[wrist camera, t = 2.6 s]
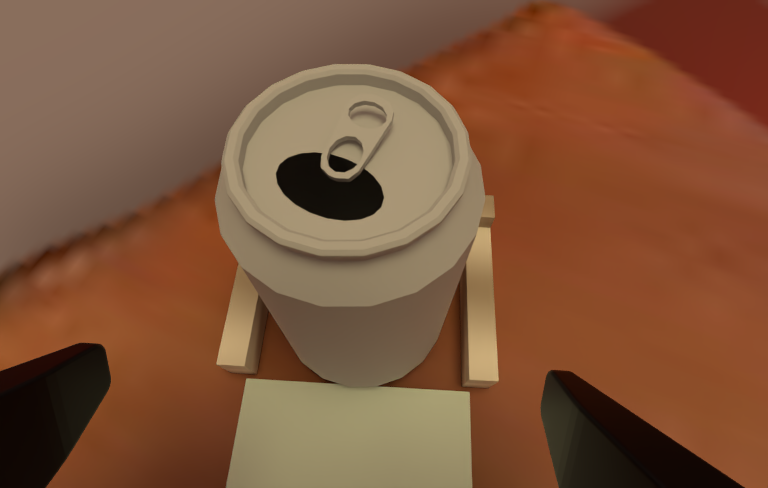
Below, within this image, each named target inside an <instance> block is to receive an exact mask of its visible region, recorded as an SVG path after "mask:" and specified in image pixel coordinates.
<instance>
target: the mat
mask: <svg viewBox="0 0 768 488" xmlns="http://www.w3.org/2000/svg"><path fill="white" fill-rule="evenodd" d="M226 488H472V462H471V425H470V392H463V391H446V390H430V389H413V388H397V387H380V386H376V387H347V386H344V385H341V384H330V383H314V382H297V381H280V380H264V379H247V378H246V383H245V389H244V394H243V399H242V404H241V410H240V415H239V420H238V426H237V431H236V436H235V441H234V447H233V452H232V457H231V463H230V468H229V473H228V478H227V484H226Z"/></svg>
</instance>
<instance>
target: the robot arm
mask: <svg viewBox="0 0 768 488" xmlns="http://www.w3.org/2000/svg"><path fill="white" fill-rule="evenodd" d="M110 383H111V376H110V371H109V366H108V361H107V355H106V351H105V348H104V347H103V346H102V345H101V344H95V343H78V344H75V345H72V346H70V347H67V348H64V349H61V350H58V351H56V352H53V353H50V354H47V355H44V356H42V357H39V358H36V359H33V360H30V361H28V362H25V363H22V364H19V365H16V366H14V367H11V368H8V369H5V370H2V371H0V488H46V486H47V485H48V484H49V482H50V481H51V480H52V478H53V477H54V476H55V474H56V473H57V472H58V470H59V469H60V467H61V466H62V464H63V463H64V462H65V460H66V459H67V457H68V456H69V454H70V452H71V451H72V449H73V448H74V446H75V444H76V443H77V441H78V440H79V438H80V436H81V435H82V433H83V431H84V430H85V428H86V426H87V425H88V423H89V421H90V420H91V418H92V416H93V415H94V413H95V411H96V410H97V408H98V406H99V405H100V403H101V401H102V400H103V398H104V397H105V395H106V393H107V391H108V389H109V387H110ZM541 417H542V421H543V425H544V429H545V433H546V437H547V441H548V446H549V450H550V454H551V458H552V462H553V466H554V470H555V474H556V478H557V482H558V486H559V488H745V487H743V486H742V485H740V484H739V483H737V482H736V481H734V480H733V479H731V478H730V477H728V476H727V475H725V474H724V473H722V472H721V471H719V470H718V469H716V468H715V467H713V466H712V465H710V464H709V463H707V462H706V461H704V460H703V459H701V458H700V457H698V456H697V455H695V454H694V453H692V452H691V451H689V450H688V449H686V448H685V447H683V446H682V445H680V444H679V443H677V442H676V441H674V440H673V439H671V438H670V437H668V436H667V435H665V434H664V433H662V432H661V431H659V430H658V429H656V428H655V427H653V426H652V425H650V424H649V423H647V422H646V421H644V420H643V419H641V418H640V417H638V416H637V415H635V414H634V413H632V412H631V411H629V410H628V409H626V408H625V407H623V406H622V405H620V404H619V403H617V402H616V401H614V400H613V399H611V398H610V397H608V396H607V395H605V394H604V393H602V392H601V391H599V390H598V389H596V388H595V387H593V386H592V385H590V384H589V383H587V382H586V381H584V380H583V379H581V378H580V377H578V376H577V375H575V374H574V373H572V372H570V371H561V370H551V371H549V372H548V374H547V376H546V380H545V386H544V391H543V396H542V401H541Z"/></svg>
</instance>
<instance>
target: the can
mask: <svg viewBox="0 0 768 488" xmlns="http://www.w3.org/2000/svg"><path fill="white" fill-rule="evenodd" d="M221 164H222V169H221V174H220V178H219V183H218V187H217V192H216V196H215V204H216V210H217V215H218V221H219V227H220V233H221V236H222V237H223V239H224V240H225V242H226V244H227V245H228V247H229V248H230V250H231V251H232V253H233V255H234V256H235V258H236V259H237V261H238V263H239V264H240V266H241V267H242V269H243V270H244V272H245V274H246V275H247V277H248V278H249V280H250V282H251V283H252V285H253V286H254V288H255V289H256V291H257V293H258V294H259V296H260V297H261V299H262V301H263V302H264V304H265V305H266V307H267V308H268V310H269V312H270V313H271V315H272V316H273V318H274V320H275V321H276V323H277V324H278V326H279V327H280V329H281V331H282V332H283V334H284V335H285V337H286V338H287V340H288V342H289V343H290V345H291V346H292V348H293V349H294V351H295V353H296V354H297V356H298V357H299V359H300V360H301V362H302V363H303V364H305V365H306V366H307V367H308V368H310V369H311V370H312V371H314V372H315V373H316V374H318V375H319V376H320V377H321V378H323V379H326V380H329V381H332V382H335V383H338V384H341V385H344V386H347V387H376V386H379V385H382V384H385V383H388V382H391V381H394V380H397V379H400V378H402V377H403V376H405V375H406V374H407V373H409V372H410V371H411V370H413V369H414V368H415V367H416V366H418V365H419V364H420V363H422V362H423V361H424V359H425V358H426V356H427V355H428V353H429V352H430V350H431V349H432V347H433V346H434V344H435V343H436V341H437V339H438V337H439V334H440V331H441V329H442V326H443V323H444V320H445V318H446V315H447V312H448V310H449V307H450V304H451V302H452V299H453V296H454V294H455V291H456V288H457V286H458V283H459V280H460V277H461V275H462V272H463V269H464V267H465V264H466V261H467V259H468V256H469V253H470V251H471V248H472V245H473V242H474V240H475V237H476V234H477V231H478V227H479V223H480V219H481V215H482V211H483V207H484V203H485V193H484V186H483V179H482V172H481V165H480V163H479V162H478V160H477V158H476V156H475V154H474V153H473V151H472V149H471V147H470V143H469V136H468V132H467V130H466V128H465V126H464V124H463V123H462V121H461V119H460V117H459V116H458V114H457V112H456V110H455V109H454V107H453V106H452V105H451V104H450V103H449V102H448V101H447V100H445V99H444V98H443V97H442V96H441V95H440V94H439V93H438V92H436V91H435V90H434V89H433V88H432V87H431V86H429V85H427V84H425V83H423V82H421V81H419V80H417V79H415V78H413V77H411V76H409V75H407V74H404V73H402V72H400V71H396V70H392V69H387V68H383V67H378V66H373V65H369V64H333V65H329V66H324V67H320V68H315V69H310V70H306V71H301V72H299V73H297V74H295V75H292V76H290V77H288V78H286V79H284V80H282V81H280V82H278V83H275V84H273V85H271V86H270V87H269V88H267V89H266V90H265V91H264V92H263V93H261V94H260V95H259V96H258V97H256V98H255V99H254V100H253V101H252V102H250V103H249V104H248V105H247V106H245V108H244V109H243V111H242V112H241V114H240V115H239V117H238V118H237V120H236V121H235V123H234V124H233V126H232V127H231V129H230V130H229V132H228V135H227V139H226V144H225V148H224V152H223V157H222V161H221Z"/></svg>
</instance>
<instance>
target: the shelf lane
mask: <svg viewBox="0 0 768 488" xmlns="http://www.w3.org/2000/svg"><path fill="white" fill-rule="evenodd" d="M494 218H495V212H494V196H489V195H485V203H484V207H483V211H482V215H481V219H480V223H479V227H478V231H477V234H476V237H475V240H474V242H473V245H472V248H471V251H470V253H469V256H468V259H467V261H466V264H465V267H464V269H463V272H462V275H461V277H460V324H461V375H462V387H476V388H489V387H491V386H492V385H494V384H495V383H497V382H498V381H499V379H498V361H497V343H496V325H495V307H494V289H493V270H492V252H491V234H490V227H491V225H492V223H493V221H494ZM267 315H268V308H267V307H266V305H265V304H264V302H263V301H262V299H261V297H260V296H259V294H258V293H257V291H256V289H255V288H254V286H253V285H252V283H251V282H250V280H249V278H248V277H247V275H246V274H245V272H244V270H243V269H242V267H241V266H240V264H238V268H237V273H236V277H235V282H234V286H233V291H232V295H231V300H230V304H229V309H228V313H227V318H226V322H225V327H224V331H223V336H222V340H221V345H220V349H219V354H218V358H217V363H216V365H218V366H220V367H222V368H223V369H225V370H227V371H229V372H231V373H243V374H257V371H258V365H259V360H260V354H261V349H262V343H263V337H264V332H265V326H266V321H267Z"/></svg>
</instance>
